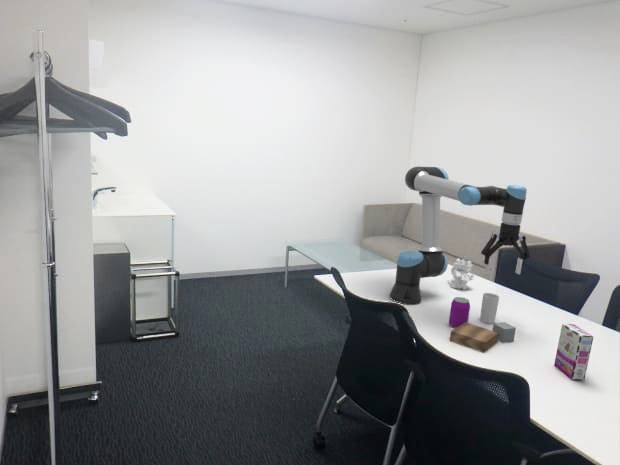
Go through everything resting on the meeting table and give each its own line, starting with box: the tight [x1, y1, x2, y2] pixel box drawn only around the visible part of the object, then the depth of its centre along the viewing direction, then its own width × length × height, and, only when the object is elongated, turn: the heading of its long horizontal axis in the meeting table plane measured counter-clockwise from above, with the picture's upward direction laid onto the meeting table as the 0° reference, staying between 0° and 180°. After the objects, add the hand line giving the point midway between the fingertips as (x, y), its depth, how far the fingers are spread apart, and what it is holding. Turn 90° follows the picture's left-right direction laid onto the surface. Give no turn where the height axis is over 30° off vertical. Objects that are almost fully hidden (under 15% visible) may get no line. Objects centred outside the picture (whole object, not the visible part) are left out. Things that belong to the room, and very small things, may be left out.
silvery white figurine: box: [447, 257, 474, 290], centre depth 265 cm, size 20×10×18 cm, turn 1°
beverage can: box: [448, 296, 471, 329], centre depth 208 cm, size 8×8×12 cm
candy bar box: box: [554, 323, 594, 381], centre depth 172 cm, size 11×5×16 cm, turn 5°
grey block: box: [492, 321, 517, 344], centre depth 199 cm, size 6×6×6 cm
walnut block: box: [449, 322, 499, 353], centre depth 194 cm, size 14×14×4 cm
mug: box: [479, 292, 500, 324], centre depth 219 cm, size 10×7×12 cm, turn 178°
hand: (502, 272), depth 205 cm, fingers open, 13 cm apart
